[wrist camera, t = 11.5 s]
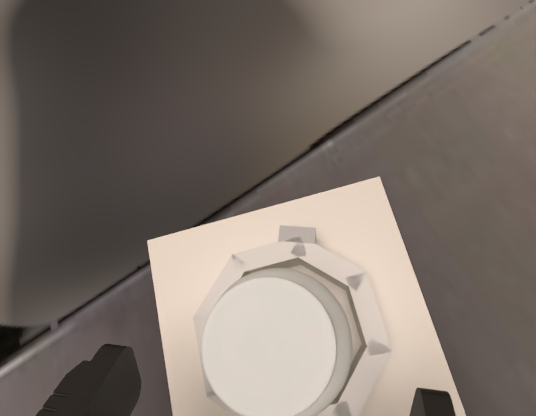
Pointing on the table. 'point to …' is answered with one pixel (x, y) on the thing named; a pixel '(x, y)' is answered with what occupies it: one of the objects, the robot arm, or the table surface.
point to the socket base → (322, 269)
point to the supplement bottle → (277, 345)
